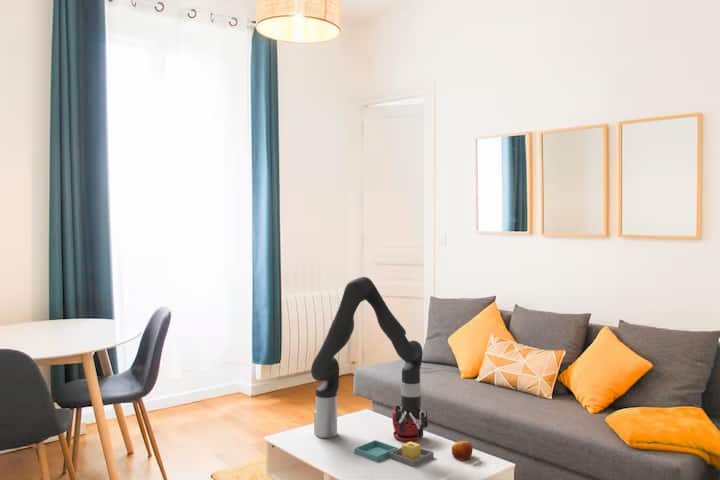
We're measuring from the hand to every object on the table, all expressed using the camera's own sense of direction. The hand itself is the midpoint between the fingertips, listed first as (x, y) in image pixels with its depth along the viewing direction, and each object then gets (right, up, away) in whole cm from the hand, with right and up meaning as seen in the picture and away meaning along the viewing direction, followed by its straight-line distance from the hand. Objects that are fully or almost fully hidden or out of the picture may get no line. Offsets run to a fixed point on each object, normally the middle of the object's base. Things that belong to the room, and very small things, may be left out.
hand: (411, 435), depth 233 cm
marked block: (0, -9, +1) cm, 9 cm away
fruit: (+20, -9, +1) cm, 22 cm away
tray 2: (0, -9, +1) cm, 9 cm away
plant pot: (0, -9, +22) cm, 24 cm away
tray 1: (-14, -9, +5) cm, 17 cm away
